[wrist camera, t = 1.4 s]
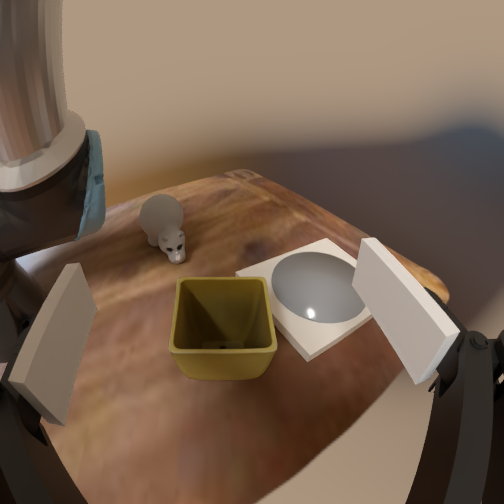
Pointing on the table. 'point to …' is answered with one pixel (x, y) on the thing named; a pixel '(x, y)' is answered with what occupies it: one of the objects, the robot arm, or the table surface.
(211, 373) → the flower pot
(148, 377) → the table surface
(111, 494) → the table surface
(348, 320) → the tile stand
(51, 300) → the robot arm
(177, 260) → the hippopotamus figurine
